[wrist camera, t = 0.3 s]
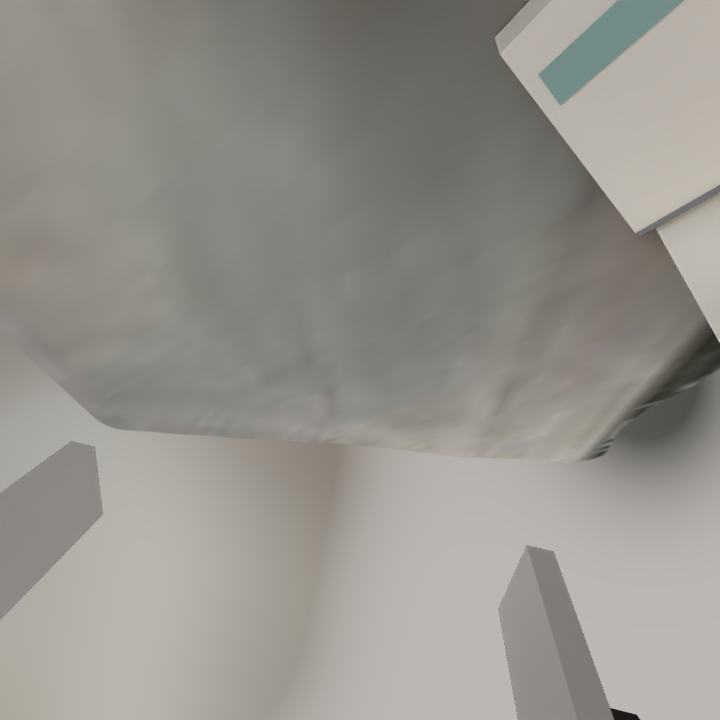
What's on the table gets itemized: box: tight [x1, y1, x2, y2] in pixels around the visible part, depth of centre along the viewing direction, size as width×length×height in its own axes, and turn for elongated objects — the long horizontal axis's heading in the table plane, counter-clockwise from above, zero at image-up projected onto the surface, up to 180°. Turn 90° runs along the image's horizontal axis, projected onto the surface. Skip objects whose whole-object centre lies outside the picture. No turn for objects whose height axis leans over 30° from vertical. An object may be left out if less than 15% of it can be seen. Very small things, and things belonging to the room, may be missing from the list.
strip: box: [495, 0, 720, 238], centre depth 17 cm, size 12×6×2 cm, turn 50°
